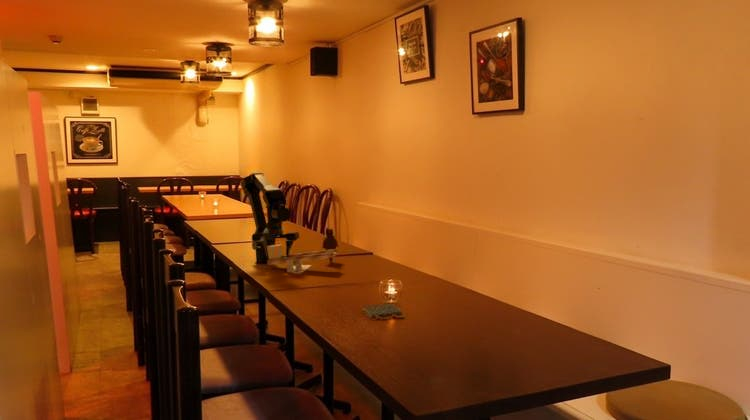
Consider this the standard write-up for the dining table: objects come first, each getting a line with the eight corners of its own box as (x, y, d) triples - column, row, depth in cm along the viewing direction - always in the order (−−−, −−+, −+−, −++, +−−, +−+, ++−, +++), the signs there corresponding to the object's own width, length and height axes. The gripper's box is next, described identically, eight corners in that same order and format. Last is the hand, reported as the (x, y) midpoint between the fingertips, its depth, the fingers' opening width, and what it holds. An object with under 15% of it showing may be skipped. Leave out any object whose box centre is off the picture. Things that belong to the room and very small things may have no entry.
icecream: (341, 262, 256) (340, 228, 254) (326, 264, 253) (324, 230, 251) (335, 259, 262) (333, 226, 260) (320, 261, 259) (318, 228, 257)
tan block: (269, 261, 240) (267, 247, 240) (273, 259, 245) (271, 245, 245) (280, 260, 239) (278, 246, 239) (284, 258, 244) (282, 243, 244)
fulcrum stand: (276, 275, 235) (275, 263, 234) (289, 267, 250) (288, 255, 250) (300, 275, 233) (299, 263, 232) (311, 266, 249) (310, 255, 248)
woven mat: (370, 322, 170) (370, 315, 169) (361, 312, 180) (361, 305, 180) (404, 317, 172) (404, 311, 172) (393, 308, 183) (393, 302, 182)
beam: (267, 265, 239) (266, 260, 239) (274, 261, 247) (273, 256, 247) (333, 257, 234) (332, 252, 234) (338, 253, 242) (337, 248, 242)
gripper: (245, 222, 234) (248, 261, 236) (290, 221, 231) (292, 260, 233) (255, 218, 245) (258, 255, 247) (298, 218, 242) (300, 255, 244)
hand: (276, 256), depth 242 cm, fingers open, 9 cm apart
